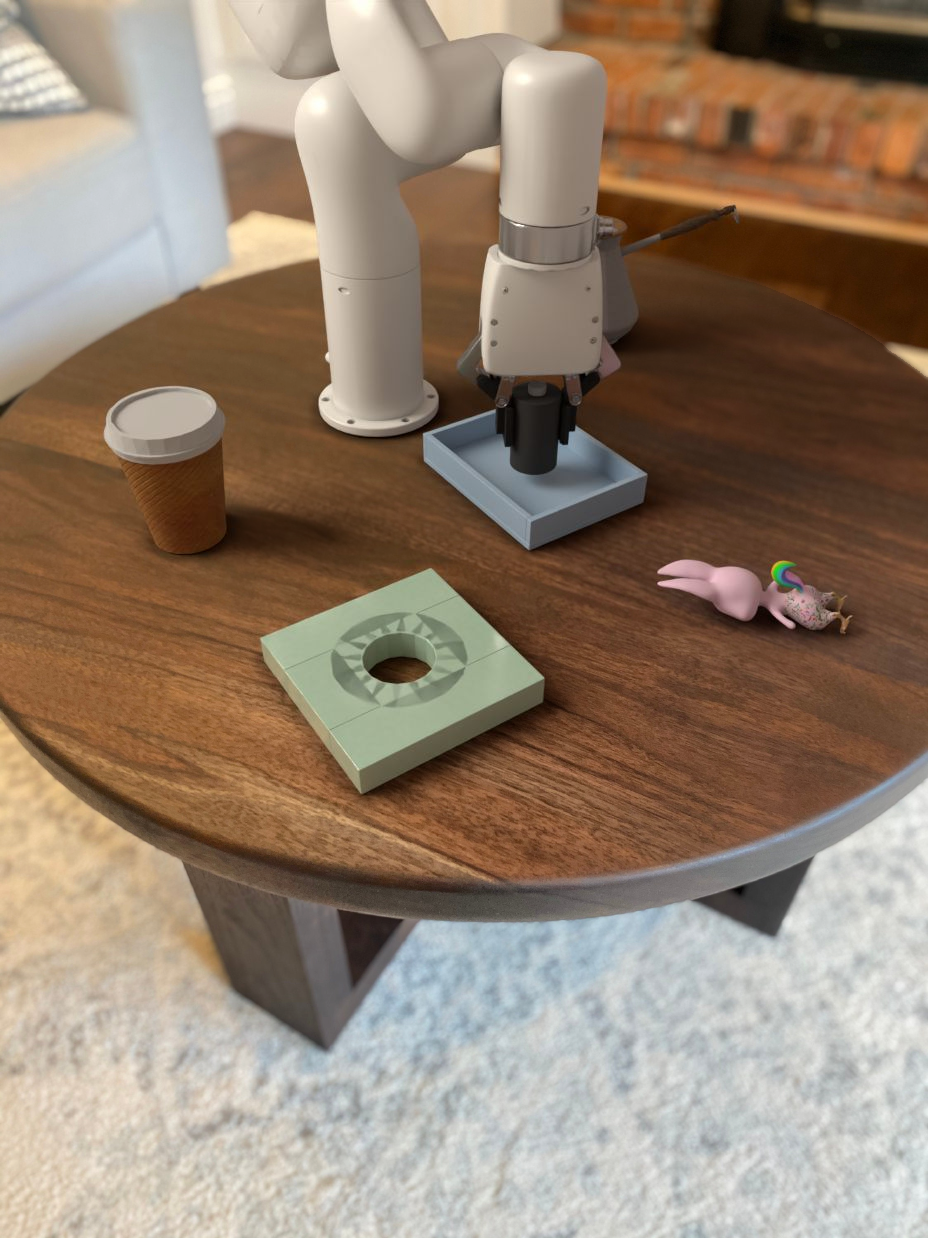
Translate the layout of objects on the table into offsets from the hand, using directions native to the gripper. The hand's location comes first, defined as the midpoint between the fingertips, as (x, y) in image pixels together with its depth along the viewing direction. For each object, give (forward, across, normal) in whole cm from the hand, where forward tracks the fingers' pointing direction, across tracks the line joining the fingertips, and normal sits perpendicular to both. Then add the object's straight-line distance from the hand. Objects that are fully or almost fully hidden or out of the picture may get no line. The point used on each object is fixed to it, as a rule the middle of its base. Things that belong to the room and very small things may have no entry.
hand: (534, 436), depth 86 cm
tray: (+5, 0, 0) cm, 5 cm away
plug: (+3, 0, 0) cm, 3 cm away
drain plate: (+5, +13, +26) cm, 29 cm away
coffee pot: (+5, -16, -31) cm, 35 cm away
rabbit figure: (+5, -15, +20) cm, 25 cm away
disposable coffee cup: (+5, +31, +6) cm, 32 cm away
